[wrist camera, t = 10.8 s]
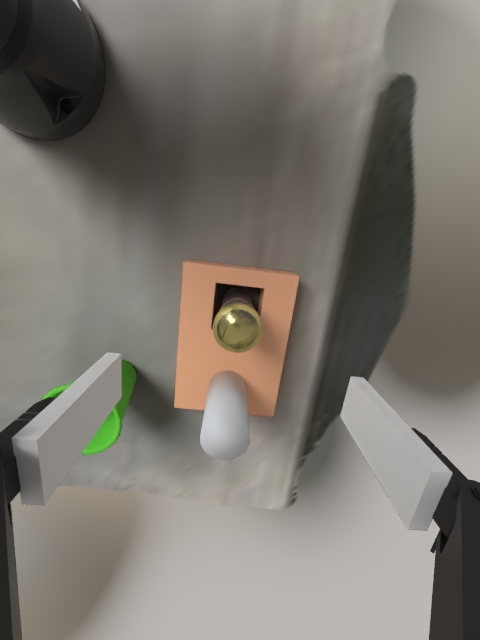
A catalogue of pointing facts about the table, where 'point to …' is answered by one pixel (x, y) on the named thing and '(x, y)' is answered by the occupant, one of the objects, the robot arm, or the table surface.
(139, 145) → the table surface
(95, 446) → the cup
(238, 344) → the pin
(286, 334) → the peach square-hole plate
